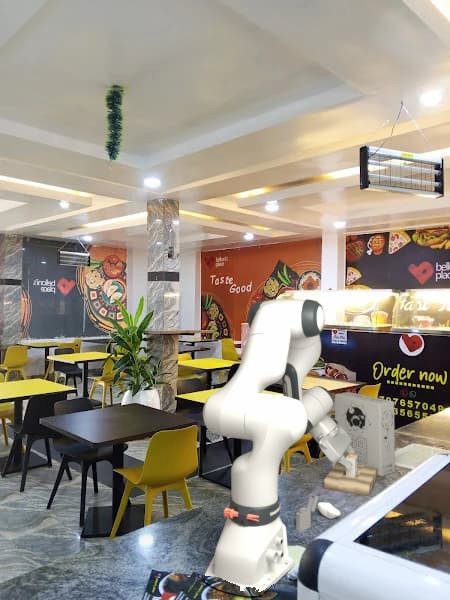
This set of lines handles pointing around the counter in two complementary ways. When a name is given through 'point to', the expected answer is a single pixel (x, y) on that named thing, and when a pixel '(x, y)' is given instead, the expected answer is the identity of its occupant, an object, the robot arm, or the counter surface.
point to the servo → (353, 469)
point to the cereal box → (368, 429)
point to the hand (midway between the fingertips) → (353, 462)
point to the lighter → (306, 514)
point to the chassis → (351, 479)
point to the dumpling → (328, 510)
